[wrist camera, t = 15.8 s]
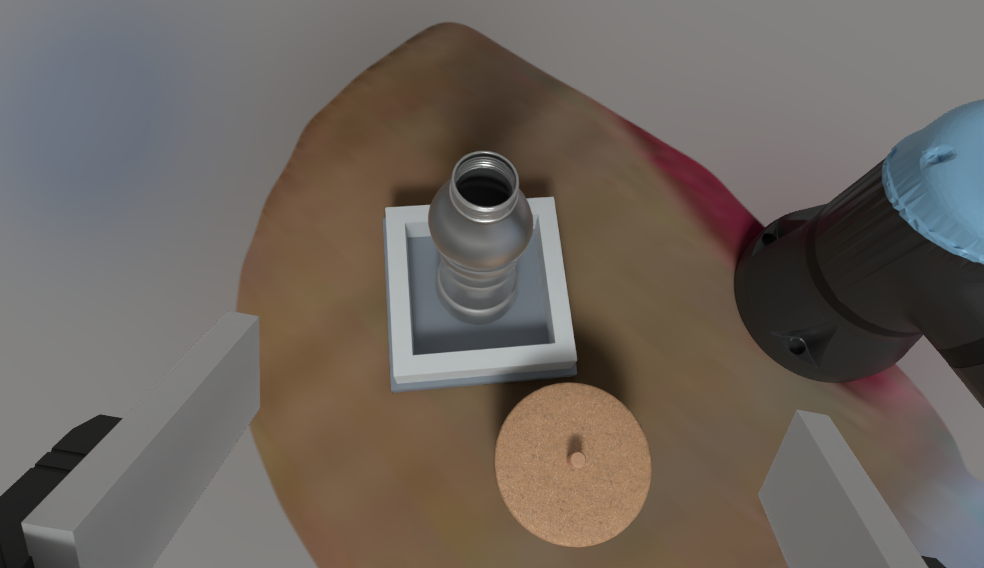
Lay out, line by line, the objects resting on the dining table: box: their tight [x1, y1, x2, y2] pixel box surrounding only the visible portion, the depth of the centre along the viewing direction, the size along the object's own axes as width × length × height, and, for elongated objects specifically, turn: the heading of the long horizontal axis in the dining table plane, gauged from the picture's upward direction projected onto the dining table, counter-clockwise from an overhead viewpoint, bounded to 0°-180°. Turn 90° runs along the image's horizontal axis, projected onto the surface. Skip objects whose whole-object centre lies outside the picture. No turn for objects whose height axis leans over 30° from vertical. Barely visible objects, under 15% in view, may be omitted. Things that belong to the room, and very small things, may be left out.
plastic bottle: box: [428, 151, 533, 325], centre depth 43 cm, size 6×7×20 cm
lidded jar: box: [494, 382, 652, 547], centre depth 45 cm, size 11×11×9 cm
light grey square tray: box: [383, 197, 577, 393], centre depth 52 cm, size 15×15×4 cm
